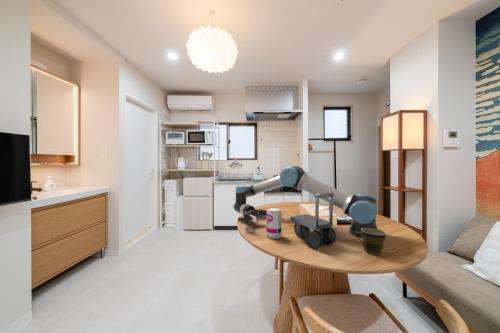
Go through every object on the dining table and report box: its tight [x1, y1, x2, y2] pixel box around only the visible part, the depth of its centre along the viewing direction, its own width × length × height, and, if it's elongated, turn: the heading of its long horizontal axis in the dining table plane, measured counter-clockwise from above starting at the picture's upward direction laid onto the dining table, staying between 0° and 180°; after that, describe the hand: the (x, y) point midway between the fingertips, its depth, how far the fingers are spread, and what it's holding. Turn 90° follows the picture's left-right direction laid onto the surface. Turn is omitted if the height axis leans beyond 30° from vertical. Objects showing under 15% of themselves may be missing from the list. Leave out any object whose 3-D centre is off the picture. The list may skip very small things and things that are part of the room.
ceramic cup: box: [354, 228, 387, 256], centre depth 99 cm, size 13×10×10 cm
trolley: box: [289, 193, 337, 250], centre depth 111 cm, size 22×12×26 cm, turn 31°
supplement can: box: [265, 207, 283, 240], centre depth 118 cm, size 8×8×15 cm
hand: (266, 218), depth 124 cm, fingers open, 13 cm apart
